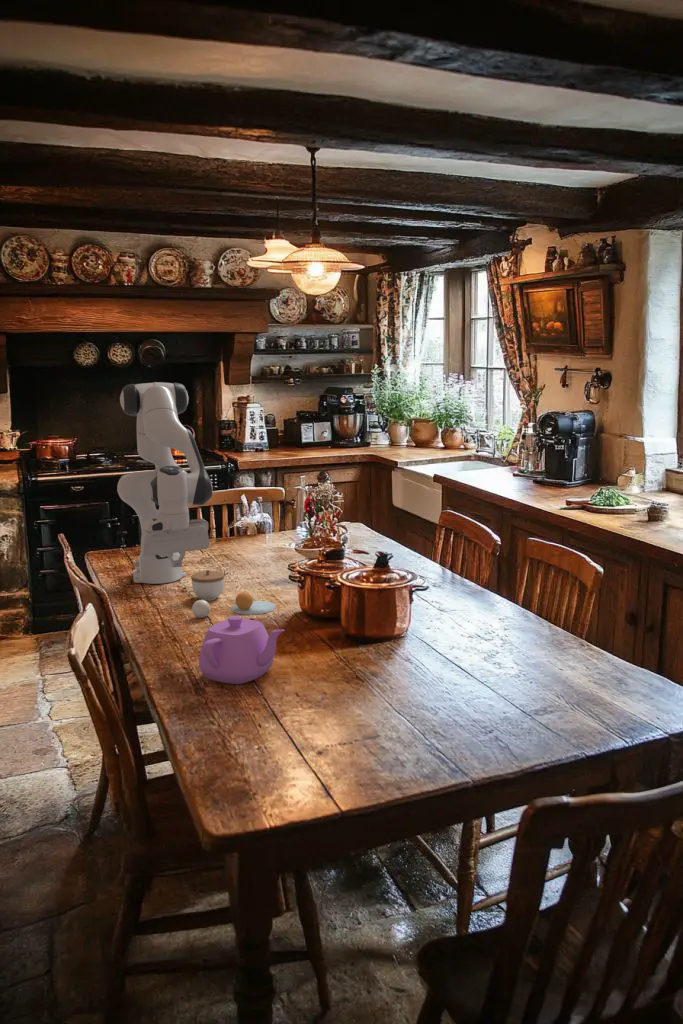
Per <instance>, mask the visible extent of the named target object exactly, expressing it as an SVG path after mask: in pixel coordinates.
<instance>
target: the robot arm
mask: <svg viewBox="0 0 683 1024" xmlns="http://www.w3.org/2000/svg"><path fill="white" fill-rule="evenodd" d="M119 402H120V406H121V408H122V411H123V413H125V414H126V415H127V416H130V417H131V416H132V417H136V445H137V446H136V447H137V448H136V449H137V454H138V455H139V457H140V458H141V459H143V460H145V461H147V462H149V463H152V464H154V467H155V469H154V470H149V471H148V470H146V471H136V472H130V473H127V474H124V475H121V477H120V478H119V479H118V482H117V486H116V487H117V489H116V491H117V494H118V496H119V498H120V500H122V501H123V502H124V503H126V504H127V505H128V506H130V507H131V508H132V509H133V510H134V511H135V513H136V515H137V517H138V519H139V522H140V523H139V524H140V530H141V536H140V554H139V556H138V558H137V559H138V560H134V561H133V566H134V568H135V569H133V570H132V578H133V579H132V581H133V583H137V584H138V583H139V584H140V583H141V584H142V583H143V584H153V585H155V584H157V585H158V584H168V583H173V582H175V581H178V580H180V579H181V578H184V577H186V576H187V572H185V571H183V568H182V567H183V560H184V558H185V557H186V552H192V551H199V550H207V549H209V547H210V538H209V532H208V531H209V522H208V521H207V520H205V519H204V518H198V519H197V518H196V519H195V518H194V519H193V518H192V519H190V509H189V505H192V506H203V505H205V504H206V503H208V502H209V501H210V500H211V499H212V497H213V484H212V481H211V479H210V475H209V474H208V472H207V470H206V467H205V465H204V462H203V459H202V455H201V454H200V451H199V448H198V445H197V442H196V440H195V438H194V435H193V433H192V432H191V430H190V429H189V428H187V427H185V426H184V425H183V424H182V423H181V421H180V419H179V416H178V415H180V414H183V413H184V412H186V410H187V408H188V404H189V395H188V390H187V389H186V386H185V385H184V384H182V383H179V382H173V383H172V382H163V381H162V382H160V381H159V382H157V381H154V382H147V383H146V382H145V383H136V384H135V383H129V384H126V385H125V386H124V387H122V389H121V393H120V396H119ZM171 449H174V450H176V451H179V452H180V453H182V454H183V455H184V457H185V459H186V461H187V464H188V467H189V470H190V472H187V471H186V470H184V468H183V467H181V466H179V465H178V464H177V463H176V461H175V459H174V457H173V454H172V450H171ZM156 505H158V506H159V507H158V508H156Z"/></svg>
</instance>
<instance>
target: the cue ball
mask: <svg viewBox="0 0 683 1024" xmlns="http://www.w3.org/2000/svg"><path fill="white" fill-rule="evenodd" d="M191 612H192V614H193V615H194V616H195V617H196V618H199V619H203V618H206V617H207V616H209V614H210V612H211V605H210V603H209V602H208V601H206V600H200V599H198V600H196V601H195V602H193V604H192V607H191Z"/></svg>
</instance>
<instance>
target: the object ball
mask: <svg viewBox="0 0 683 1024" xmlns="http://www.w3.org/2000/svg"><path fill="white" fill-rule="evenodd" d="M253 601H254V598H253V596H252V595H251V594H250V593H249V592H247V591H242V592H239V593H238V594H237V595H236V596H235V601H234V602H235V605H237V607H238V608H240V609H242V610H246V609H248V608H250V607H251V606H252V604H253Z"/></svg>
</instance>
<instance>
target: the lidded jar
mask: <svg viewBox="0 0 683 1024" xmlns="http://www.w3.org/2000/svg"><path fill="white" fill-rule="evenodd" d="M191 585H192V591H193V593H194V594H195V596H197V597H198V598H199V600H200V599H201V600H205V601H206V600H208V601H214V599H215V600H217V599H219V597H220V596H221V594H223V591H224V587H225V573H223V572H221V571H218V570H217V571H216V570H210V569H206V570H205V571H200V572H199V571H198V572H194V573H193V574H192V575H191ZM216 598H217V599H216Z"/></svg>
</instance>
